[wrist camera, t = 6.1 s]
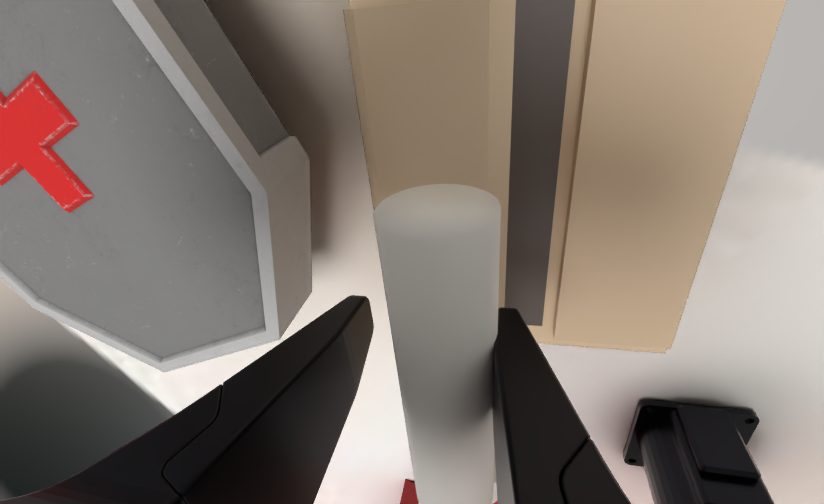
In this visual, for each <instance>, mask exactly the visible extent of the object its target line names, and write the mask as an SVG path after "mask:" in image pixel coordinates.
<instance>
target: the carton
mask: <svg viewBox="0 0 824 504" xmlns="http://www.w3.org/2000/svg"><path fill="white" fill-rule="evenodd" d="M426 1H435V0H349V7H350V10H352V9H361V8H371V7H380V6H389V5H398V4H407V3H417V2H426ZM786 1H787V0H516V9H515V37H514V64H513V91H512V118H511V146H510V173H509V200H508V227H507V255H506V282H505V308H516V309H518V310H519V312H520V314H521V315H522V317H523V319H524V321H525V322H526V324H527V326H528V328H529V329H530V331H531V333H532V335H533V337H534V338H535V340H536V342H537V343H541V344H553V345H566V346H578V347H591V348H603V349H616V350H629V351H641V352H654V353H665V352H666V349H671V347H672V344H673V341H674V338H675V335H676V332H677V329H678V326H679V323H680V320H681V317H682V313H683V310H684V307H685V304H686V301H687V298H688V295H689V292H690V289H691V286H692V283H693V280H694V277H695V274H696V271H697V268H698V265H699V262H700V259H701V256H702V253H703V250H704V247H705V244H706V241H707V238H708V235H709V232H710V229H711V226H712V223H713V220H714V217H715V214H716V211H717V208H718V205H719V202H720V199H721V196H722V193H723V190H724V187H725V184H726V181H727V178H728V175H729V172H730V169H731V166H732V163H733V160H734V157H735V154H736V151H737V148H738V145H739V142H740V139H741V136H742V133H743V130H744V127H745V124H746V121H747V118H748V115H749V112H750V109H751V106H752V103H753V100H754V97H755V94H756V91H757V88H758V85H759V82H760V79H761V76H762V73H763V70H764V67H765V64H766V61H767V58H768V55H769V52H770V49H771V46H772V43H773V40H774V37H775V34H776V31H777V28H778V25H779V22H780V19H781V15H782V13H783V10H784V7H785V4H786Z"/></svg>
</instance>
